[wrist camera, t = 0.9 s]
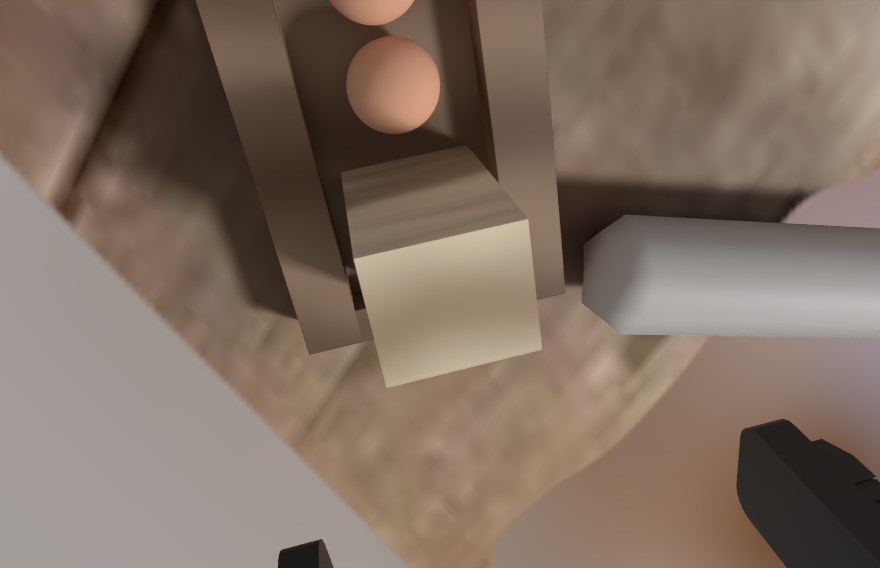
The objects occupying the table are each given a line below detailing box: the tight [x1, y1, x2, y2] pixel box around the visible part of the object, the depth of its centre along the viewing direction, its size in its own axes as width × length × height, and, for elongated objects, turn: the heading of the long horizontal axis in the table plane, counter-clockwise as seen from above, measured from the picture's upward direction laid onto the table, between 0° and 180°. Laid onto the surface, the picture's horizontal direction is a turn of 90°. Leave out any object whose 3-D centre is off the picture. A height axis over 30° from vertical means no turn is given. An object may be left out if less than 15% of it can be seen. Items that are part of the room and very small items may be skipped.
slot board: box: [196, 0, 566, 355], centre depth 24 cm, size 16×11×2 cm
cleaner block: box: [341, 145, 542, 388], centre depth 22 cm, size 4×5×8 cm
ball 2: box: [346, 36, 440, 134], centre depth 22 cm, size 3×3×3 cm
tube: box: [582, 215, 880, 338], centre depth 30 cm, size 5×5×25 cm
